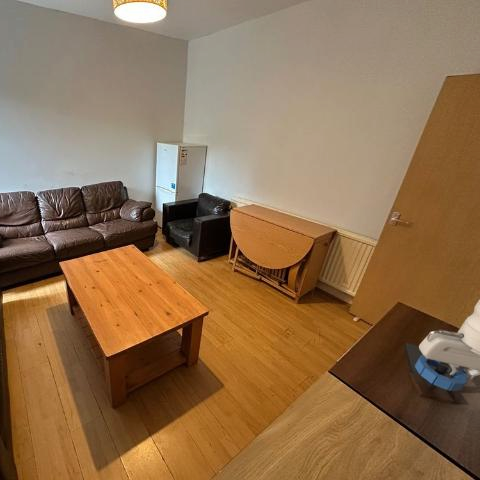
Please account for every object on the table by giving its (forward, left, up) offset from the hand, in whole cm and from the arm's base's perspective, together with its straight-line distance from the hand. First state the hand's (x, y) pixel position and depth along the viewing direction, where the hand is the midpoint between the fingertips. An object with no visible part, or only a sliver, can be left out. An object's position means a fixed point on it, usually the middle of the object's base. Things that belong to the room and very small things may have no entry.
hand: (458, 375), depth 70 cm
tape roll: (+4, 0, -2) cm, 4 cm away
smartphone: (+1, -11, -8) cm, 14 cm away
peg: (+4, 0, -8) cm, 9 cm away
